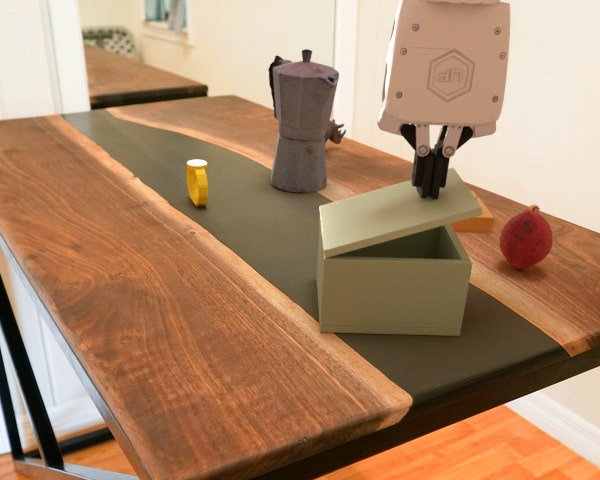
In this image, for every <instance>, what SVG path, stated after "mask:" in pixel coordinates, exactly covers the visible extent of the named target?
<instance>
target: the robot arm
mask: <svg viewBox="0 0 600 480" xmlns="http://www.w3.org/2000/svg"><path fill="white" fill-rule="evenodd" d="M510 40H511V3H510V2H505V1H501V0H399V2H398V6H397V10H396V13H395V16H394V21H393V26H392V29H391V34H390V39H389V44H388V50H387V56H386V63H385V68H384V75H383V82H382V91H381V102H382V106H381V109H380V111H379V114H378V117H377V120H376V125H377V127H378V129H379V130H381V131H383V132H386V133H390V134H393V135H396V136H397V135H398V136H401V137H403V138H404V140H405V141H406V142H407V143H408V145H409V146H410V147H411V148H412V149H413V150H414V155H413V164H412V171H411V180H412V186H413V187H416V190H417V192H418V194H419V196H420V198H424V199H426V198H427V197H429V196H430V197H431V198H432V199H438V197H439V190H440V188H445V185H446V179H447V173H448V169H449V165H450V160H451V159H450V158H452V157H454V155H455V154H456V151H458V150H459V149H460V148H461V147H462V146H464V145H465V144H466V143H467V142H468V141H470V140H471V139H476V138H483V137H486V136H491V135H493V134H496V131H497V121H498V120H499V119H500V117H501V114H502V110H503V106H504V99H505V93H506V85H507V78H508V77H507V76H508V66H509V55H510ZM430 126H441V127H440V131H439V134H438V137H437V140H436V143H434V147H433V148H431V144H430V142H431V140H430V138H431V137H430V136H431V135H430Z"/></svg>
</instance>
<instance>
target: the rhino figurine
mask: <svg viewBox="0 0 600 480" xmlns="http://www.w3.org/2000/svg"><path fill="white" fill-rule="evenodd" d="M344 126H345V123H340V124H337V123H336V119H334V118H333V119H332V120H330V122H329V123H328V124H327V125H326V133H325V136H324V138H325V145H326V144H327V141H330V142H332V143H333V144H335V145H340V144H341V142H342V139H343V138H344V136H345V135H346V134H347V129H344V130H343V132H342V128H344Z"/></svg>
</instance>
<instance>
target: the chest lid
mask: <svg viewBox="0 0 600 480" xmlns="http://www.w3.org/2000/svg"><path fill="white" fill-rule="evenodd" d="M465 183H466V182H464V181H463V179H462V177H461V176H460V174H458V172H457V170H456V168H454V167H450V168H448V173H447V179H446V185H445V188H440V190H439V197H438V199H432V198H431V197H430V196H429V197H427V198H426V199H424V198H420V196H419V194H418V192H417V190H416V187H413V186H412V179H409V180H408V179H407V180H406V181H401V182H398V183H395V184H392V185H387V186H384V187H380V188H377V189H374V190H370V191H367V192H364V193H360V194H356V195H353V196H350V197H346V198H343V199H339V200H335V201H332V202H329V203H325V204H321V205H319V220H320V219H321V230H322V240H323V250H324V254H325V257H326V258H328V257H331V256H335V255H339V254H342V253H346V252H350V251H353V250H357V249H360V248H364V247H368V246H371V245H375V244H379V243H382V242H386V241H389V240H393V239H397V238H400V237H404V236H408V235H411V234H415V233H418V232H422V231H426V230H429V229H433V228H437V227H440V226H444V225H447V224H451V223H455V222H458V221H462V220H465V219H469V218H473V217H476V216H480V215H483V211H482V207H481V205H480V204H479V203H478V201H477V200H476V198H475V197H474V196H473V194H472V193H471V191H472V190H471V189H469V187H468V185H467V186H466V185H465ZM470 190H471V191H470Z"/></svg>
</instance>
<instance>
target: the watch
mask: <svg viewBox="0 0 600 480" xmlns="http://www.w3.org/2000/svg"><path fill="white" fill-rule="evenodd" d="M186 168H187V169H186V184H187V190H188V195H189V198H190V199H189V200H191V201H192V203H193V204H194V205H195V207H204V206H206V205H207V204H208V201H209V183H208V182H209V181H208V176H207V172H206V169H207V168H208V162H207V161H206V160H204V159H191V160H188V161H187V162H186Z"/></svg>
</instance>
